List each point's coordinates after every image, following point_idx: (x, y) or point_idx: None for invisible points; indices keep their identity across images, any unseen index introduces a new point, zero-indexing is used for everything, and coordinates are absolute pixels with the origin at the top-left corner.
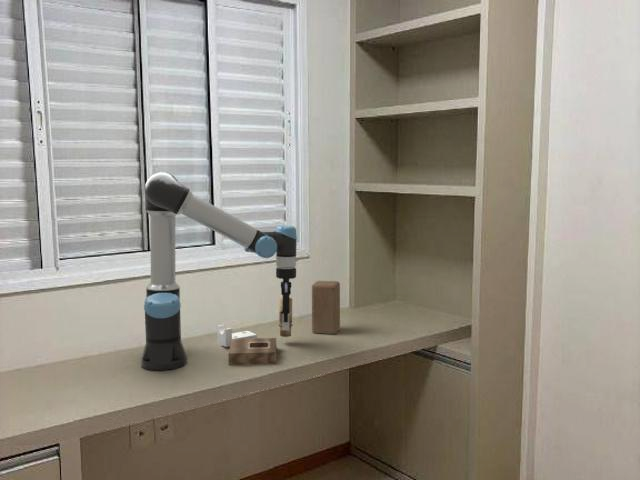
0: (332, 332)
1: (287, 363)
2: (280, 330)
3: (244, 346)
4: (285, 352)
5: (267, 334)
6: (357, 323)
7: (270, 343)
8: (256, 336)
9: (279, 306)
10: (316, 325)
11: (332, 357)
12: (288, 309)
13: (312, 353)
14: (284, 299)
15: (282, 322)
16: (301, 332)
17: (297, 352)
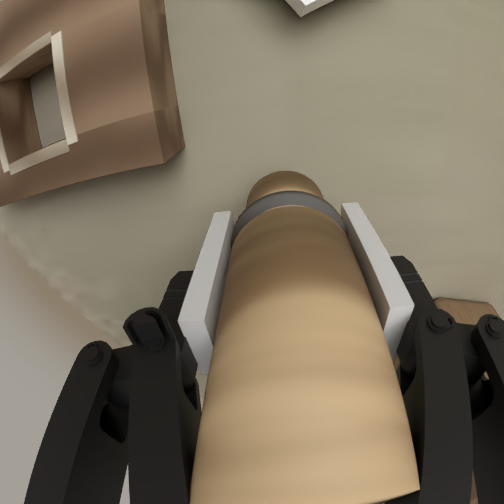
0: (396, 358)
1: (28, 228)
2: (267, 190)
3: (7, 49)
4: (129, 202)
5: (468, 92)
6: None
7: (55, 156)
8: (302, 7)
9: (290, 356)
10: None
11: (125, 346)
12: (104, 411)
13: (145, 303)
14: (44, 495)
15: (203, 252)
16: (463, 254)
17: (141, 252)
